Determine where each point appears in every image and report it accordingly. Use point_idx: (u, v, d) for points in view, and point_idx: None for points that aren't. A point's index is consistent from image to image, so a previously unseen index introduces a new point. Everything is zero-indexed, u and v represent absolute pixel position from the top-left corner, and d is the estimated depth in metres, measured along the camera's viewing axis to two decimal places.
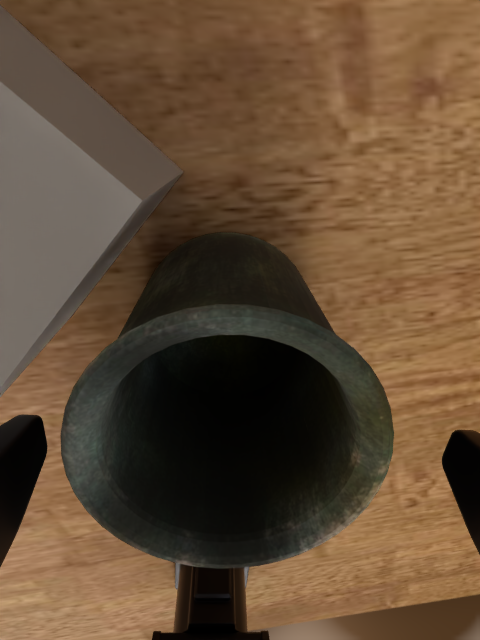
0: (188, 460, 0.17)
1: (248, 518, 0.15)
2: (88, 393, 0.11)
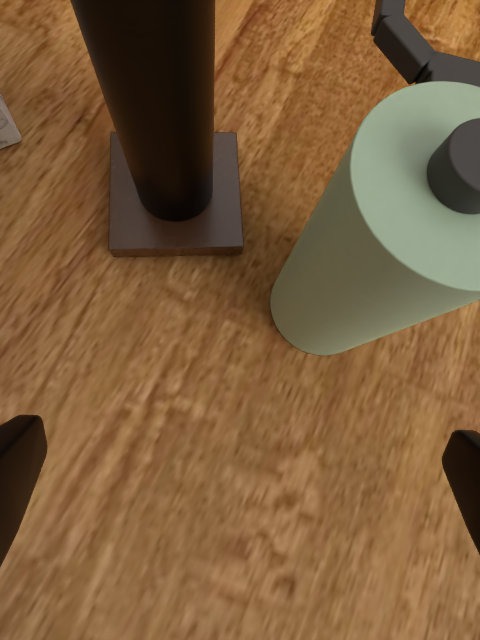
0: None
1: None
2: None
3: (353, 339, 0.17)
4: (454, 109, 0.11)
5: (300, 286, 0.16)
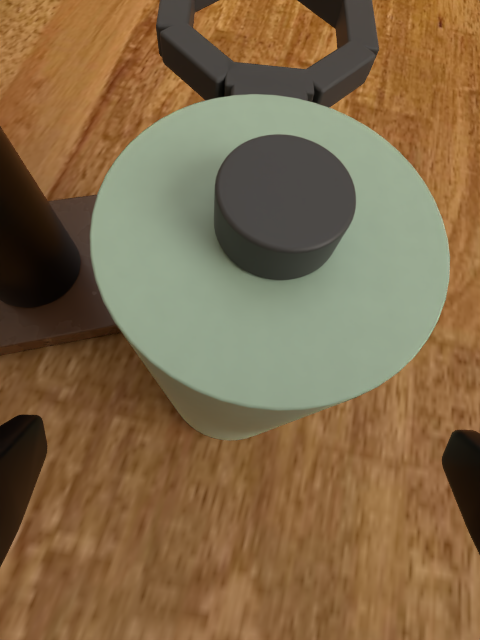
0: None
1: None
2: None
3: (246, 434, 0.13)
4: (253, 130, 0.07)
5: None
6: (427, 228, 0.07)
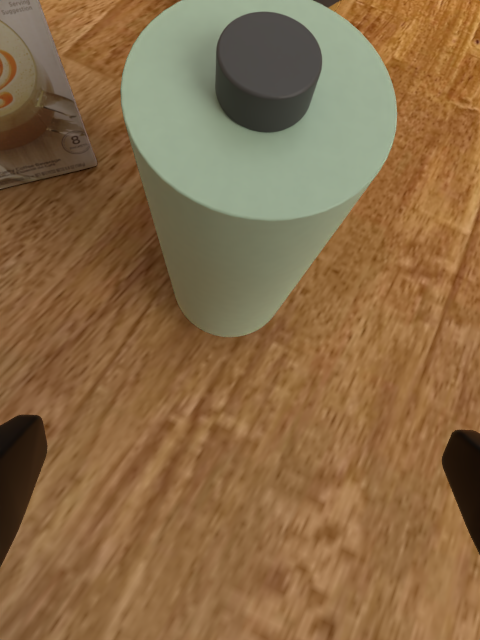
0: None
1: None
2: None
3: (237, 311, 0.15)
4: None
5: (165, 257, 0.14)
6: (382, 104, 0.09)
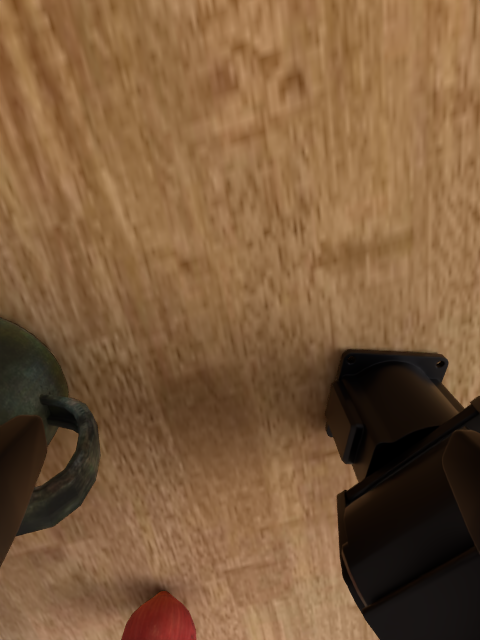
0: None
1: None
2: None
3: None
4: None
5: None
6: None
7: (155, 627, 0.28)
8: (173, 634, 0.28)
